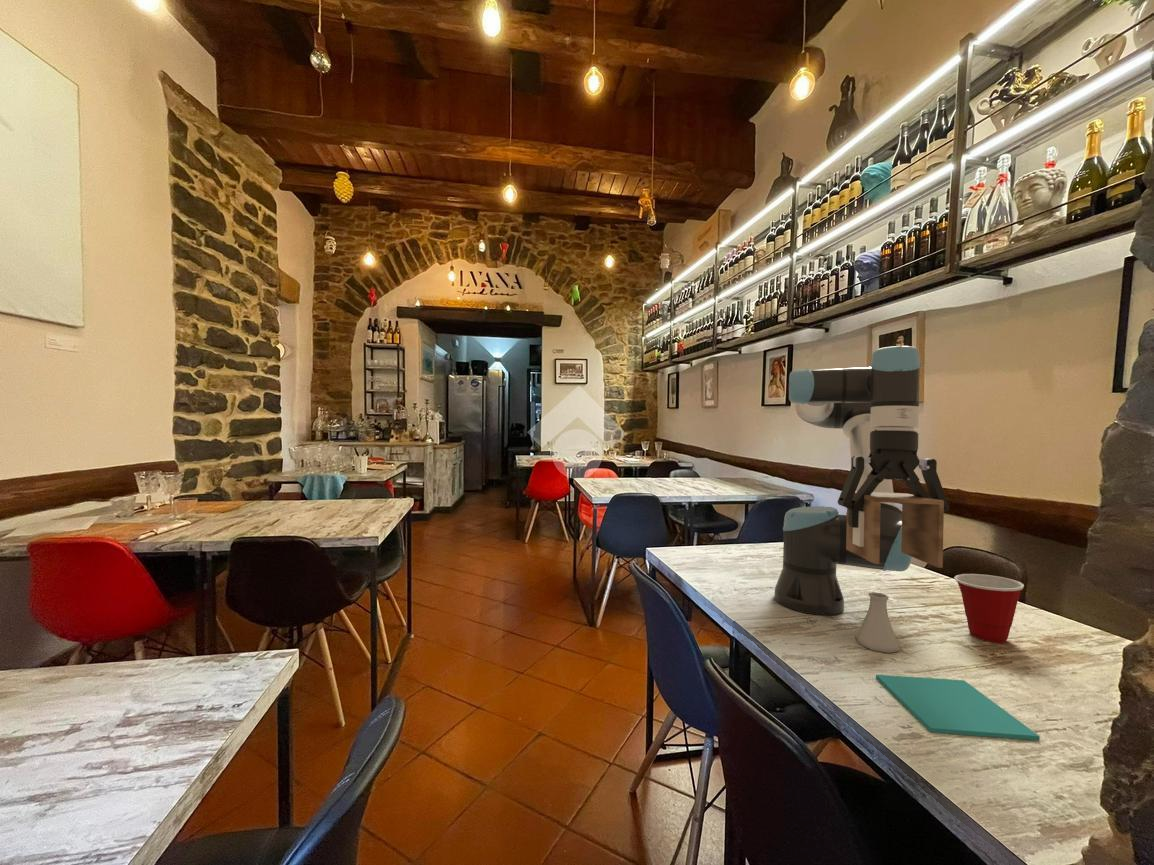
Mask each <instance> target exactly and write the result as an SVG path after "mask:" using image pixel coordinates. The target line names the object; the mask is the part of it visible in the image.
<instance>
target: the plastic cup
mask: <svg viewBox="0 0 1154 865" xmlns="http://www.w3.org/2000/svg"><path fill="white" fill-rule="evenodd" d="M953 579H954V580H955V581H956V582H957V585H958V587H959V591H960V593H961V598H962V604H963V607H964V614H965V617H966V621H967V622H966V623H967V628H968V630H969V634H970V635H971V636H973V637H974V638H977V639H979V640H982V641H985V642H989V643H995V644H1005V643H1006V642H1007V641H1008V638H1009V635H1010V631H1011V628H1012V626H1013V622H1014V618H1015V615H1016V609H1017V605H1018V602H1019V599H1020V595H1021V592H1022V590H1024V587H1025V585H1024V583H1022V582H1021V581H1018V580H1015V579H1012V578H1007V577H1003V576H998V575H990V574H979V573H962V574H957V575H955V576H954V577H953Z"/></svg>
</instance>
